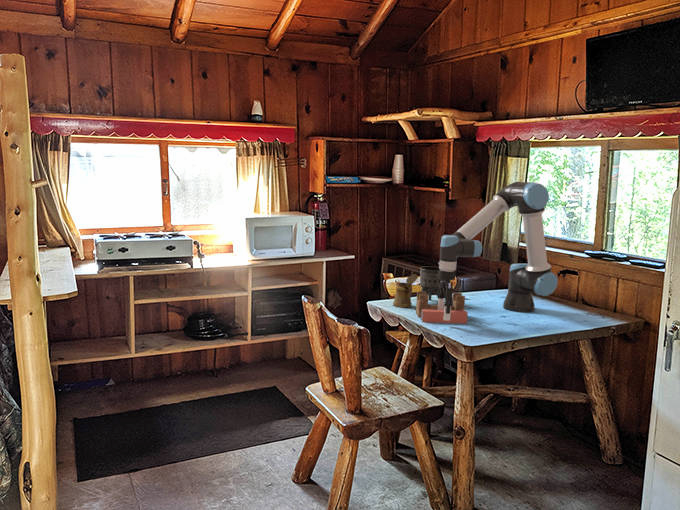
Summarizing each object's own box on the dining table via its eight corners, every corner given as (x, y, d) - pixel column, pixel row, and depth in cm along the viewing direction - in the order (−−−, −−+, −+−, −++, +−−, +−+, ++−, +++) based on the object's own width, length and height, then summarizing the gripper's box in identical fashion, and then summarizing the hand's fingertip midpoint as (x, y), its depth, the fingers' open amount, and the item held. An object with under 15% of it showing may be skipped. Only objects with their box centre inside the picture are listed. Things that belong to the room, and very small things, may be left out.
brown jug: (405, 310, 285) (407, 273, 282) (389, 304, 296) (391, 268, 293) (420, 309, 289) (422, 272, 286) (403, 302, 301) (405, 268, 298)
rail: (464, 321, 270) (465, 310, 269) (466, 323, 266) (467, 312, 266) (420, 320, 269) (421, 309, 268) (422, 322, 265) (422, 311, 265)
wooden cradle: (459, 314, 282) (461, 292, 280) (463, 318, 274) (465, 296, 273) (415, 313, 281) (417, 291, 279) (418, 317, 273) (419, 294, 272)
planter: (447, 302, 306) (449, 268, 303) (437, 306, 295) (439, 271, 293) (424, 298, 313) (426, 265, 310) (413, 302, 302) (416, 268, 299)
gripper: (433, 264, 276) (430, 309, 279) (444, 274, 251) (440, 323, 255) (449, 265, 276) (445, 309, 280) (462, 275, 252) (458, 324, 255)
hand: (443, 316), depth 267 cm, fingers open, 13 cm apart
